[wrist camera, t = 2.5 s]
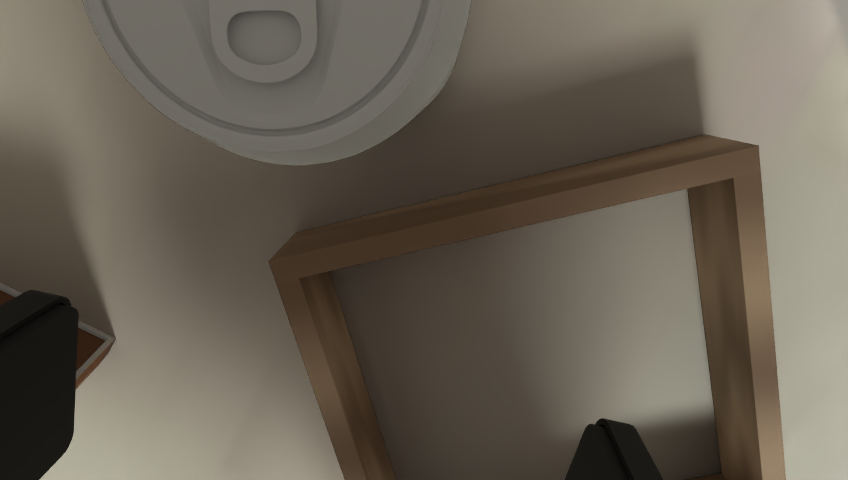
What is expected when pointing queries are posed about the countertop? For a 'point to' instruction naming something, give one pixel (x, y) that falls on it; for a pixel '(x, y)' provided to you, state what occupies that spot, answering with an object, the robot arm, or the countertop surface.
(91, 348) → the food container
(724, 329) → the walnut box
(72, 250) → the countertop surface
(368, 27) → the beverage can
